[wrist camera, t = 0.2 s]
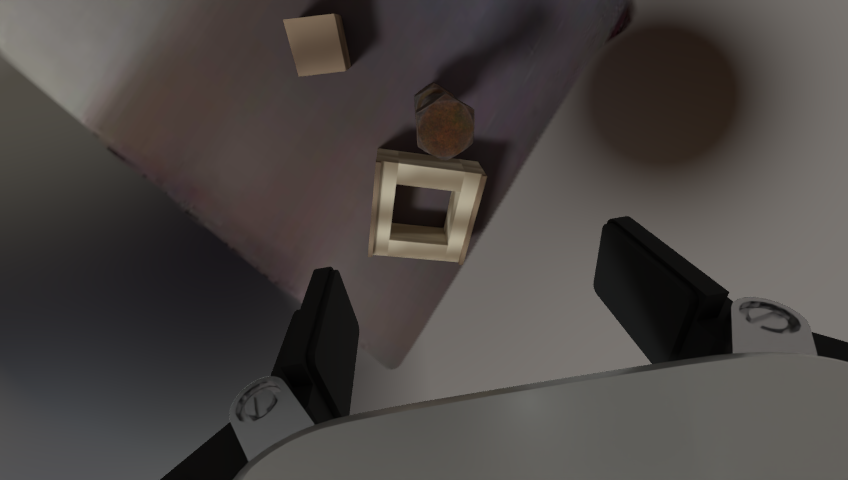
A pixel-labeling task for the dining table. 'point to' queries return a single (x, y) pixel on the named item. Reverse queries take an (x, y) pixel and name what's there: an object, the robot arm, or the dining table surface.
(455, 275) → the dining table surface
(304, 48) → the walnut cube
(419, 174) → the socket
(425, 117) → the bolt
